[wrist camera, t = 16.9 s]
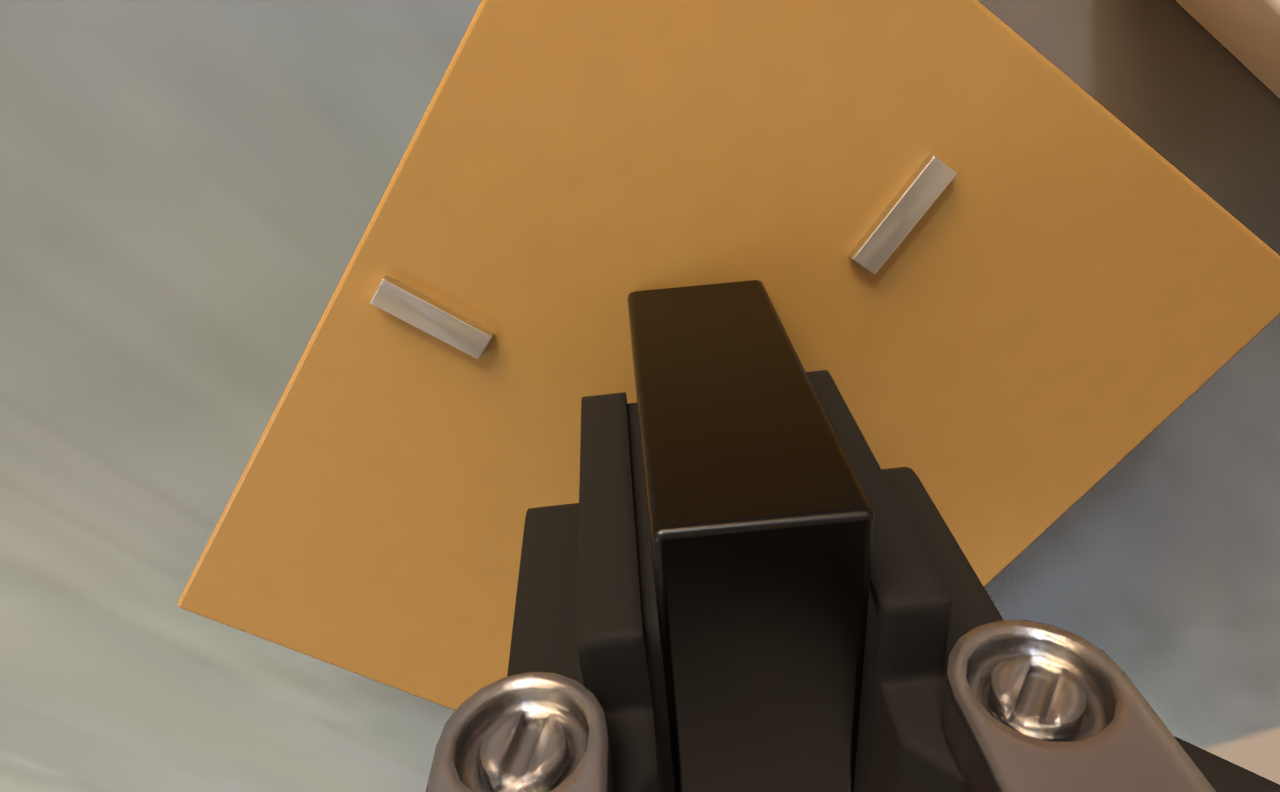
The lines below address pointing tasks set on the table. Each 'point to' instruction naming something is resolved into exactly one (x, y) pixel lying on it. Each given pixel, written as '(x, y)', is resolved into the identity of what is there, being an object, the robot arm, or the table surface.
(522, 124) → the orange dial base
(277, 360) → the table surface
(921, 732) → the robot arm
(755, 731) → the black battery pack
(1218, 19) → the white socket plate
